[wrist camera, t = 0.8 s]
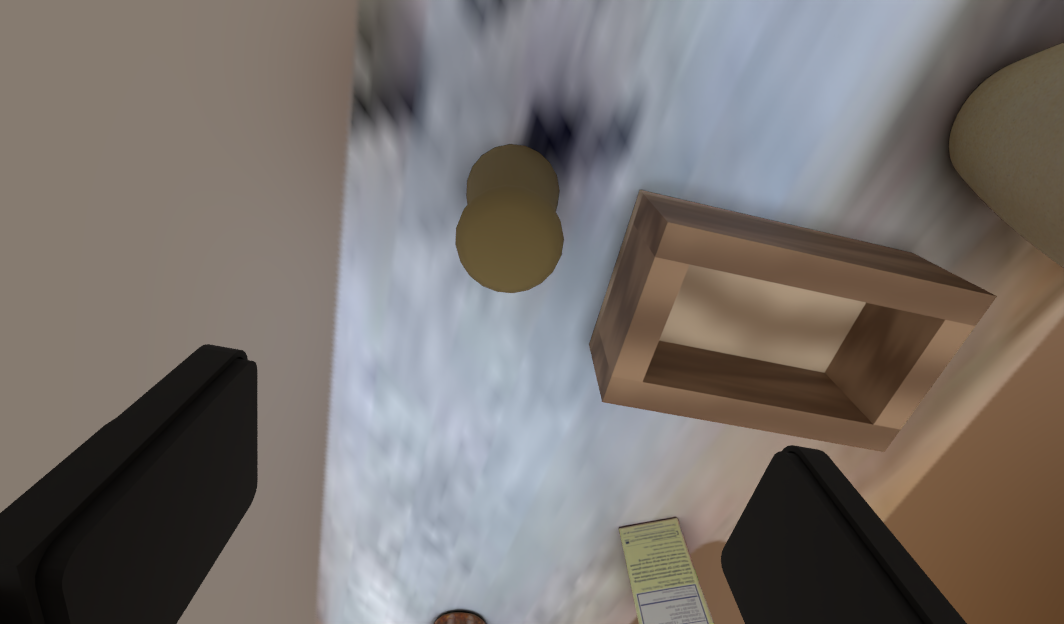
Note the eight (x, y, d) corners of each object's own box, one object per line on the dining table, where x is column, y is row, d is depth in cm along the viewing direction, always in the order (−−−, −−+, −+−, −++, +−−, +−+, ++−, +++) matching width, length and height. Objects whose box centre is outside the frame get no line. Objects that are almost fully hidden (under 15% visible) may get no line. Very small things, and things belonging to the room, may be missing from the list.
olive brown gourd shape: (488, 249, 34) (474, 327, 24) (450, 165, 32) (418, 215, 22) (571, 218, 33) (592, 287, 24) (540, 129, 31) (549, 164, 21)
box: (688, 584, 51) (730, 720, 41) (632, 592, 52) (661, 730, 41) (678, 515, 47) (724, 649, 36) (618, 525, 47) (645, 660, 37)
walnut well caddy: (639, 189, 32) (667, 222, 26) (912, 252, 35) (996, 296, 29) (589, 344, 38) (602, 401, 32) (828, 390, 40) (884, 451, 34)
